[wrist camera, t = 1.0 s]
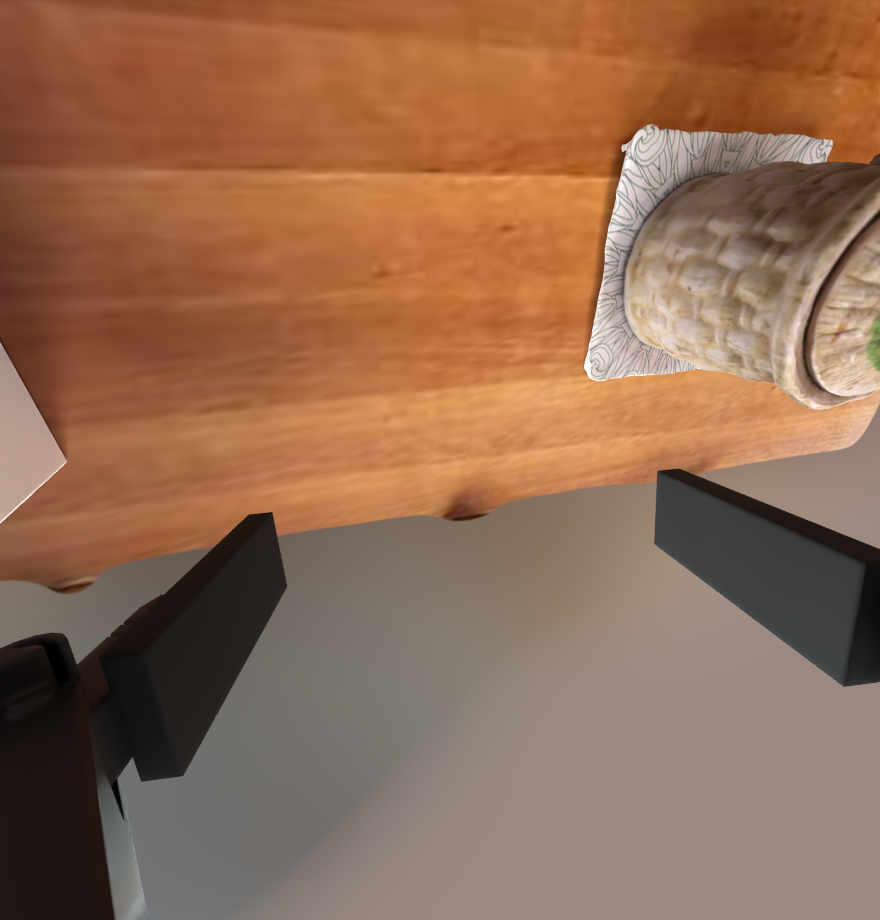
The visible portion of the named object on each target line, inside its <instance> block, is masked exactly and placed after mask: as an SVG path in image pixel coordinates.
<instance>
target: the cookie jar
mask: <svg viewBox="0 0 880 920" xmlns="http://www.w3.org/2000/svg"><path fill="white" fill-rule="evenodd" d="M832 146H833V141H832V140H826V139H816V138H810V137H807V136H805V135H794V134H779V135H776V136H774V135H773V134H772V133H769V134H764V135H759V134H756V133H753V132H748V131H743V132H741V133H734V134H730V133H718V132H709V131H704V132H683V131H680V130H671V129H662V130H659V129H658V127H657V126H656V125H653V124H651V125H646V126H645V127H643V128H641V129H640V130H638V131H637V132H636V134H635V135H634V137H633V139H632V140H631V141H629V142H628V143H627V144H623V146H622V152H623V151H625V150H627V151H626V155H625V160H624V164H623V168H622V173H621V177H620V181H619V185H618V187H617V190H616V201H615V205H614V209H613V214H612V218H611V221H610V224H609V227H608V234H607V241H606V245H605V265H604V273H603V280H602V285H601V289H600V293H599V297H598V303H597V309H596V314H595V319H594V324H593V330H592V336H591V340H590V343H589V350H588V353H587V357H586V360H585V364H584V366H585V368H584V369H585V370H586V371H587V374H588V376H589V378H591V379H593V380H595V381H603V380H606V381H607V380H608V379H612V378H623V377H627V376H630V375H633V376H643V375H648V374H649V375H654V374H655V375H660V374H665V375H666V374H672V373H676V372H678V371H690V370H693V369H698V368H699V369H701V370H708V371H719V372H727V373H732V374H735V375H737V376H739V377H741V378H744V379H748V380H754V381H766V382H771V383H775V384H776V385H777V386H778V387H779V388H780V389H781V390H782V391H783V392H784V393H785V394H787V395H788V396H789V397H791V398H792V399H793V400H795V401H796V402H797V403H798V404H800V405H801V406H802V407H805V408H808V409H814V410H819V409H828V408H832V407H835V406H837V405H841V404H844V403H847V402H851V401H856V400H860V399H864V398H867V397H869V396H871V395H872V394H874V393H875V392H877V391H878V390H880V154H878V155H876V156H875V157H874V158H873V160H872V161H871V162H870V163H869V164H868V165H867V164H862V163H852V162H826V160H827V157H828V155H829V153H830V151H831V149H832Z"/></svg>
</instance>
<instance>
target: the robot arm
mask: <svg viewBox="0 0 880 920" xmlns="http://www.w3.org/2000/svg"><path fill="white" fill-rule="evenodd" d="M654 544H655V545H656V546H658V547H659V548H660V549H661V550H663V551H664V552H666V553H667V554H668V555H670V556H671V557H672V558H673V559H675V560H676V561H677V562H679V563H680V564H681V565H683V566H684V567H686V568H687V569H688V570H689V571H691V572H692V573H693V574H695V575H696V576H698V577H699V578H700V579H701V580H703V581H704V582H705V583H707V584H708V585H709V586H711V587H712V588H713V589H715V590H716V591H717V592H719V593H720V594H721V595H723V596H724V597H725V598H727V599H728V600H729V601H731V602H732V603H733V604H735V605H736V606H738V607H739V608H740V609H741V610H743V611H744V612H745V613H747V614H748V615H749V616H751V617H752V618H753V619H755V620H756V621H757V622H759V623H760V624H761V625H763V626H764V627H765V628H767V629H768V630H769V631H771V632H772V633H773V634H774V635H776V636H777V637H778V638H780V639H781V640H782V641H784V642H785V643H787V644H788V645H789V646H791V647H792V648H793V649H794V650H796V651H797V652H799V653H800V654H801V655H802V656H804V657H805V658H806V659H808V660H809V661H810V662H812V663H813V664H814V665H816V666H817V667H818V668H820V669H821V670H822V671H824V672H825V673H826V674H828V675H829V676H830V677H832V678H833V679H834V680H836V681H837V682H838V683H840V684H841V685H842V686H844V687H845V686H853V685H861V684H868V683H875V682H880V549H878V548H875V547H873V546H871V545H868V544H866V543H863V542H861V541H858V540H856V539H853V538H850V537H848V536H845V535H843V534H841V533H838V532H836V531H833V530H831V529H828V528H826V527H823V526H821V525H818V524H816V523H813V522H811V521H808V520H806V519H803V518H801V517H798V516H796V515H793V514H791V513H788V512H786V511H783V510H781V509H778V508H776V507H773V506H771V505H768V504H766V503H763V502H761V501H758V500H756V499H753V498H751V497H748V496H746V495H743V494H741V493H738V492H736V491H734V490H731V489H729V488H726V487H724V486H721V485H718V484H716V483H713V482H711V481H708V480H706V479H704V478H701V477H699V476H696V475H694V474H691V473H689V472H686V471H684V470H681V469H670V470H661V471H657V492H656V516H655V540H654ZM286 588H287V583H286V578H285V573H284V568H283V563H282V558H281V553H280V548H279V543H278V538H277V533H276V528H275V523H274V518H273V513H272V512H269V513H260V514H250V515H248V516H247V517H246V518H245V519H244V520H243V521H242V522H240V523H239V524H238V525H237V526H236V527H235V528H234V529H233V530H232V531H231V532H230V533H229V534H228V535H227V536H226V537H225V538H224V539H222V540H221V541H220V542H219V543H218V544H217V545H216V546H215V547H214V548H213V549H212V550H211V551H210V552H209V553H208V554H207V555H206V556H205V557H203V558H202V559H201V560H200V561H199V562H198V563H197V564H196V565H195V566H194V567H193V568H192V569H191V570H190V571H189V572H188V573H186V574H185V576H183V577H182V578H181V579H180V580H179V581H178V582H177V583H176V584H175V585H174V586H173V587H172V588H171V589H170V590H168V591H167V592H166V594H164V595H160V596H159V597H157V598H155V599H154V600H152V601H150V602H149V603H147V604H145V605H144V606H142V607H140V608H139V609H138V610H137V611H136V612H135V613H133V614H132V615H131V616H130V617H129V618H128V619H127V620H126V621H125V622H124V625H120V626H119V627H118V628H117V629H116V630H115V631H114V632H113V633H111V637H107V638H106V639H105V640H104V641H103V642H102V643H101V644H99V645H98V646H97V647H96V648H95V649H94V650H93V651H92V652H91V653H89V654H88V655H87V656H86V657H85V658H84V659H83V660H82V661H81V662H80V663H78V664H76V661H75V658H74V656H73V653H72V651H71V648H70V645H69V642H68V639H67V638H66V637H65V635H64V634H61V633H48V634H42V635H35V636H33V637H29V638H26V639H23V640H20V641H17V642H14V643H12V644H9V645H7V646H5V647H2V648H0V920H148V915H147V910H146V905H145V900H144V895H143V890H142V885H141V881H140V876H139V870H138V865H137V861H136V855H135V850H134V846H133V841H132V836H131V831H130V826H129V821H128V816H127V811H126V806H125V801H124V796H123V792H122V789H121V786H120V783H119V781H118V777H119V775H120V774H121V772H122V771H123V770H124V768H125V767H126V765H127V764H128V763H129V761H130V760H131V758H132V757H133V759H134V762H135V765H136V768H137V771H138V773H139V777H140V779H141V781H150V780H157V779H165V778H171V777H180V776H183V775H184V773H185V771H186V770H187V768H188V766H189V764H190V762H191V761H192V759H193V757H194V755H195V753H196V751H197V750H198V748H199V746H200V744H201V742H202V741H203V739H204V737H205V735H206V733H207V732H208V730H209V728H210V726H211V724H212V722H213V721H214V719H215V717H216V715H217V713H218V712H219V710H220V708H221V706H222V704H223V702H224V701H225V699H226V697H227V695H228V693H229V691H230V690H231V688H232V686H233V684H234V682H235V681H236V679H237V677H238V675H239V673H240V672H241V670H242V668H243V666H244V664H245V662H246V661H247V659H248V657H249V655H250V653H251V652H252V650H253V648H254V646H255V644H256V642H257V641H258V639H259V637H260V635H261V633H262V632H263V630H264V628H265V626H266V624H267V622H268V621H269V619H270V617H271V615H272V613H273V611H274V610H275V608H276V606H277V604H278V602H279V601H280V599H281V597H282V595H283V593H284V592H285V590H286Z"/></svg>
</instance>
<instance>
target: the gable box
mask: <svg viewBox="0 0 880 920" xmlns="http://www.w3.org/2000/svg"><path fill="white" fill-rule="evenodd" d="M66 462H67V460H66V459H65V457H64V455H63V453H62V451H61V450H60V448H59V446H58V444H57V443H56V441H55V439H54V437H53V435H52V434H51V432H50V430H49V428H48V426H47V425H46V423H45V421H44V419H43V418H42V416H41V414H40V412H39V410H38V409H37V407H36V405H35V403H34V401H33V400H32V398H31V396H30V394H29V392H28V391H27V389H26V387H25V385H24V384H23V382H22V380H21V378H20V376H19V375H18V373H17V371H16V369H15V367H14V366H13V364H12V362H11V360H10V359H9V357H8V355H7V353H6V351H5V350H4V348H3V346H2V344H1V342H0V523H1V522H2V521H3V520H4V519H5V518H7V517H8V516H9V515H10V514H11V513H12V512H13V511H14V510H15V509H16V508H17V507H19V506H20V505H21V504H22V503H23V502H24V501H25V500H26V499H27V498H28V497H29V496H31V495H32V494H33V493H34V492H35V491H36V490H37V489H38V488H39V487H40V486H41V485H43V484H44V483H45V482H46V481H47V480H48V479H49V478H50V477H51V476H52V475H53V474H55V473H56V472H57V471H58V470H59V469H60V468H61V467H62V466H63V465H64V464H65V463H66Z"/></svg>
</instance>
